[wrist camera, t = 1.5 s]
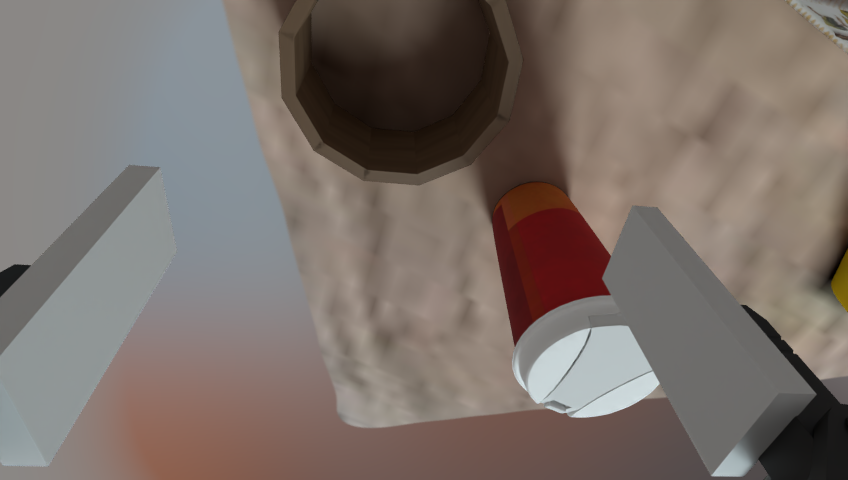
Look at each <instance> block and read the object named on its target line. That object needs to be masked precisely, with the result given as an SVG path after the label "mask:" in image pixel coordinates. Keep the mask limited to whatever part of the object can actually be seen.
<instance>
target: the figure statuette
mask: <svg viewBox="0 0 848 480" xmlns="http://www.w3.org/2000/svg"><path fill="white" fill-rule="evenodd" d="M831 286H832V290H833V292H834V294H835V295H836V297H837V299H838V300H839V302H840V303H841V304H842V306H843V307H844V308H845V310H846V311H847V312H848V249H847V251H846V253H845V255H844V257H843V259H842V261H841V263H840V265H839V267H838V269H837V271H836V273H835V275H834V277H833V279H832V282H831Z"/></svg>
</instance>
